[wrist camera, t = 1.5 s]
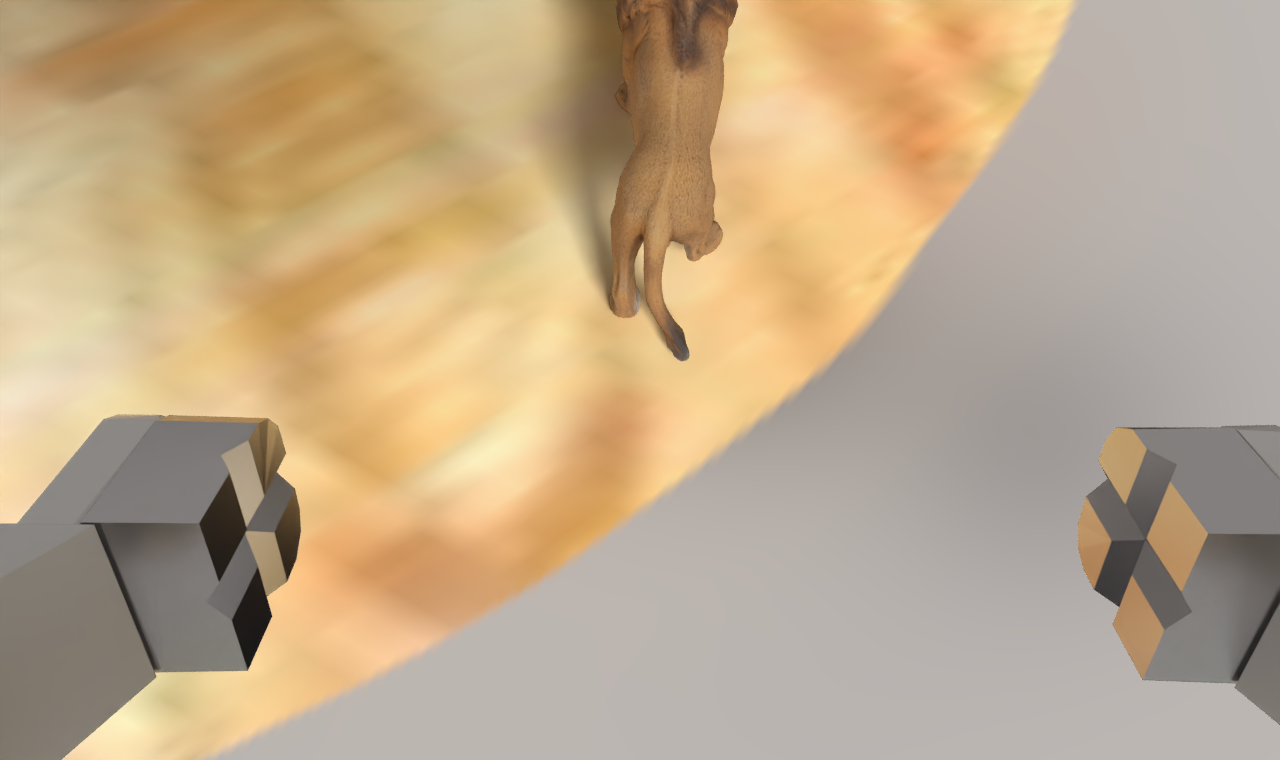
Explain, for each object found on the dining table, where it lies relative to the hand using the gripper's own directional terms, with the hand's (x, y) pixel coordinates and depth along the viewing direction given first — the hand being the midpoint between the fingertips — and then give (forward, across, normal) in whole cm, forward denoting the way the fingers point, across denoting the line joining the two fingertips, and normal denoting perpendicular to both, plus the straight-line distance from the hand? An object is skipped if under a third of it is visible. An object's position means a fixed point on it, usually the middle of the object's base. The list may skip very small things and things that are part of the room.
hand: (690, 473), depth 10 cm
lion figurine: (+27, 0, +7) cm, 28 cm away
